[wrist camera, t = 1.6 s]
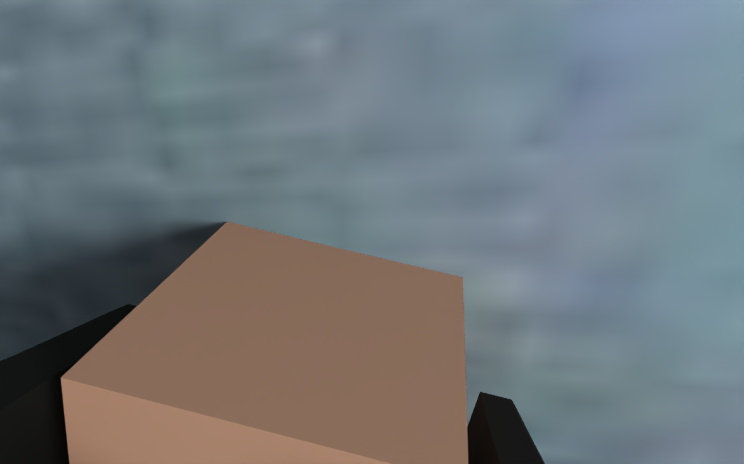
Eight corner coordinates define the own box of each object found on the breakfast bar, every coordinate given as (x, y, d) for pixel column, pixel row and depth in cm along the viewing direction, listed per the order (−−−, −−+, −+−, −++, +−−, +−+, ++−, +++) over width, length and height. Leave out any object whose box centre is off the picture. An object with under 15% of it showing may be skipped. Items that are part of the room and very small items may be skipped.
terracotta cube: (410, 449, 12) (384, 701, 8) (216, 398, 13) (84, 614, 8) (462, 275, 10) (468, 484, 6) (228, 220, 11) (61, 377, 6)
